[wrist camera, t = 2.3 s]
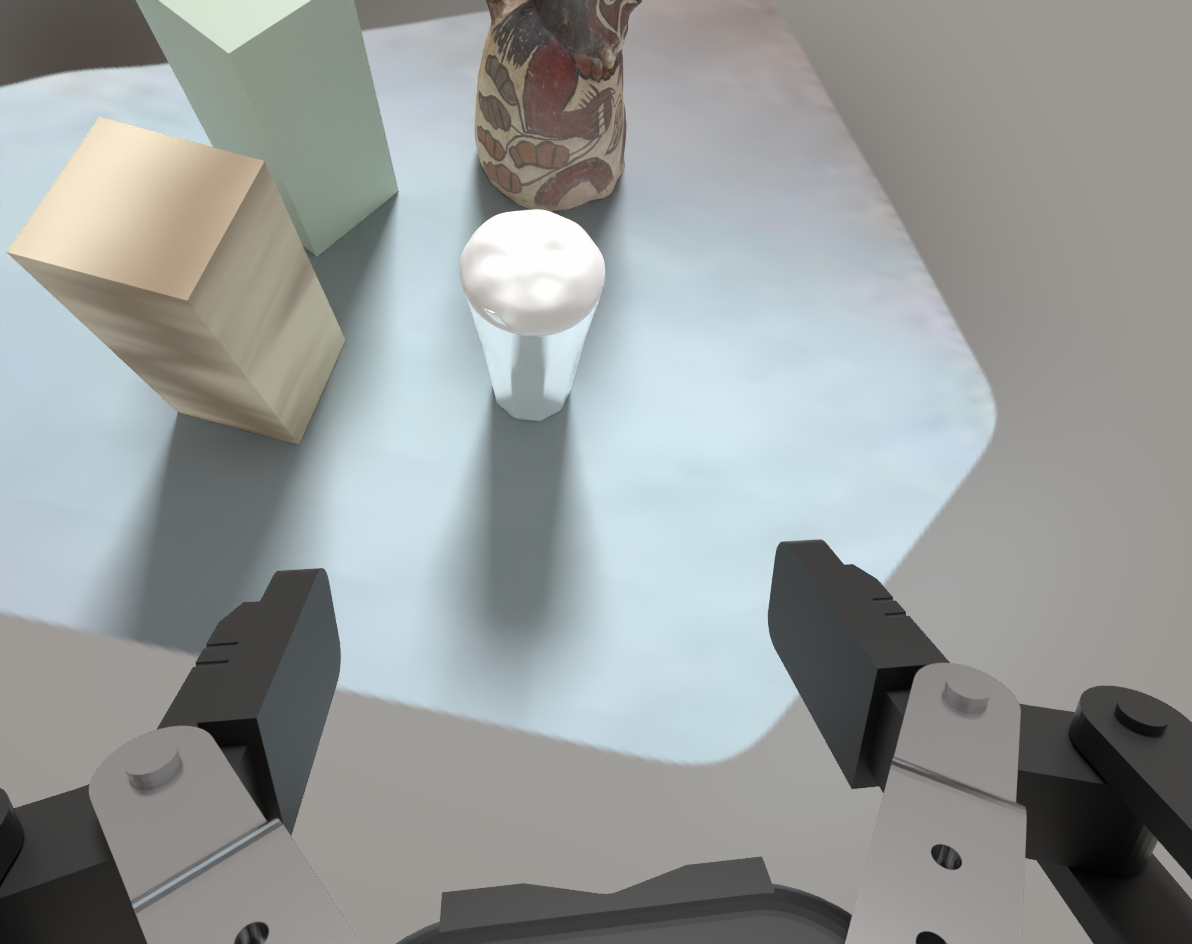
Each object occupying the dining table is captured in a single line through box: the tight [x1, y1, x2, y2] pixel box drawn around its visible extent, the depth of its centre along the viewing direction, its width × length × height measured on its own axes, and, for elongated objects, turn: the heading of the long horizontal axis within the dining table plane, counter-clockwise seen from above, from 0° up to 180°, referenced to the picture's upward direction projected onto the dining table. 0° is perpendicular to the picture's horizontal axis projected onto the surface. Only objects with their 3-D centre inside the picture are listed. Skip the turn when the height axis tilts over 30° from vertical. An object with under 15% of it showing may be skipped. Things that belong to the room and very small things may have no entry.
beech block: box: [7, 117, 346, 445], centre depth 25 cm, size 5×5×10 cm
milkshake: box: [460, 209, 605, 421], centre depth 25 cm, size 4×5×10 cm
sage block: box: [136, 0, 398, 257], centre depth 28 cm, size 5×5×10 cm
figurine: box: [475, 0, 642, 212], centre depth 29 cm, size 7×7×12 cm
